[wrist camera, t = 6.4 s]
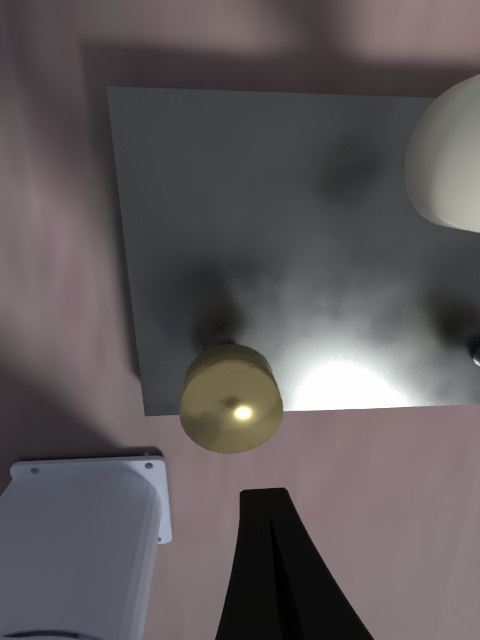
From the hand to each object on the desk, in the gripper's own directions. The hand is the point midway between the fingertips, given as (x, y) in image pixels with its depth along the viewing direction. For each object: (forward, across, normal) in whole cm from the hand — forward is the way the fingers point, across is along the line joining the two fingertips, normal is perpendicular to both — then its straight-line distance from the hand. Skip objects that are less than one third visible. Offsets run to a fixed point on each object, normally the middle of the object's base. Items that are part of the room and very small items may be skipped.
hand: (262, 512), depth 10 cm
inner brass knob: (+8, +1, -1) cm, 8 cm away
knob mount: (+10, -6, -5) cm, 13 cm away
